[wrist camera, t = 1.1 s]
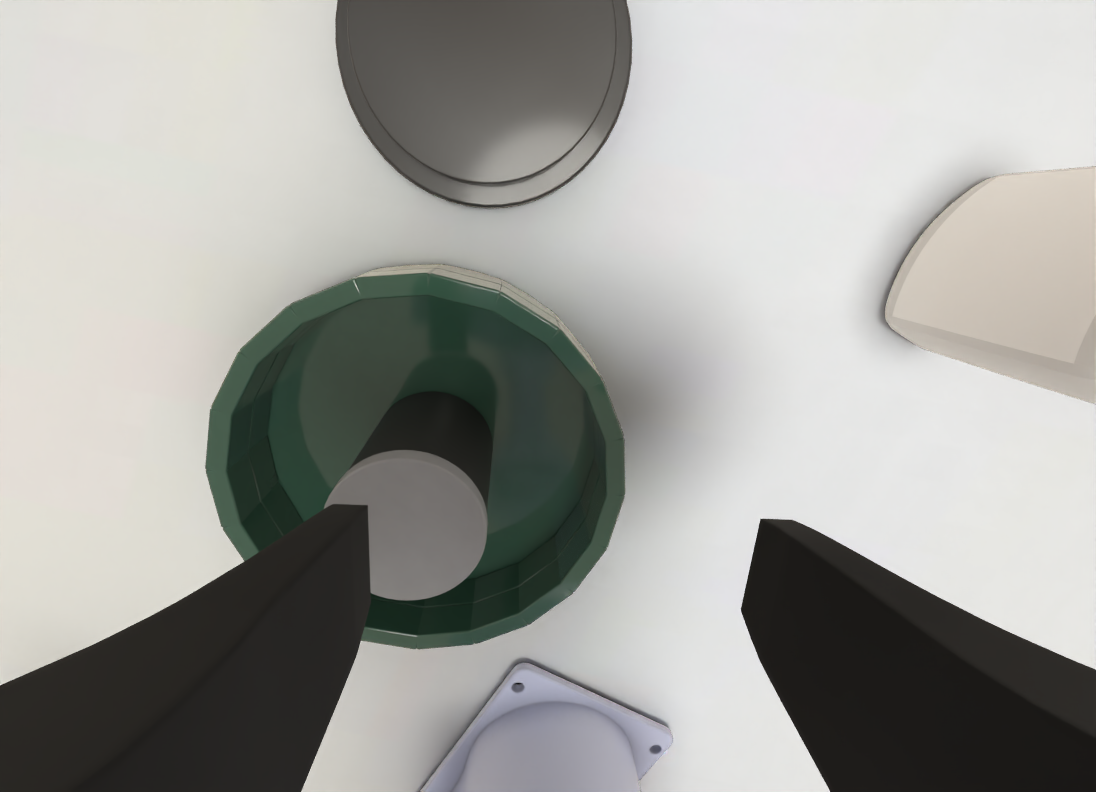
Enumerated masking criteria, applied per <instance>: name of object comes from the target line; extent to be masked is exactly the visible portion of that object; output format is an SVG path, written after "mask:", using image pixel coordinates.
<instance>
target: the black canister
mask: <svg viewBox="0 0 1096 792" xmlns="http://www.w3.org/2000/svg"><path fill="white" fill-rule="evenodd" d="M492 452H493V441H492V436H491V432H490V429H489V427H488V425H487V423H486V421H485V419H484V418H483V417H482V415H481V414H480V413H479V412H478V411H477V410H476V409H475V408H474V407H473V406H472V405H471V404H469V403H468V402H466V401H465V400H463V399H461V398H459V397H457V396H454V395H451V394H448V393H443V392H434V391H433V392H421V393H416V394H413V395H410V396H407V397H405V398H403V399H401V400H400V401H398V402H397V403H395V404H394V405H393V406H392V407H391V408H390V409H389V410H388V411H387V412H386V413H385V415H384V416H383V418H382V419H381V421H380V422H379V424H378V425H377V427H376V428H375V430H374V431H373V433H372V434H371V436H370V438H369V439H368V441H367V442H366V444H365V445H364V447H363V448H362V450H361V451H360V453H359V454H358V456H357V457H356V459H355V461H354V462H353V464H352V465H351V467H350V468H349V470H348V471H347V472H346V473H345V474H344V475H343V476H342V477H341V479H340V480H339V482H338V483H337V485H336V486H335V487H334V489H333V491H332V492H331V494H330V495H329V497H328V499H327V501H326V504H325V507H324V509H325V508H326V507H328V506H330V505H332V504H350V505H368V527H369V558H370V589H371V593H372V594H374V595H377V596H380V597H384V598H388V599H394V600H420V599H427V598H431V597H434V596H437V595H440V594H442V593H445V592H447V591H449V590H451V589H452V588H454V587H456V586H457V585H458V584H460V583H461V582H463V581H464V580H465V579H466V578H467V577H468V576H469V575H470V574H471V572H472V571H473V570H474V569H475V567H476V566H477V564H478V563H479V561H480V559H481V557H482V554H483V552H484V548H485V544H486V538H487V526H488V519H487V506H488V495H489V484H490V474H491V463H492Z"/></svg>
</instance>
